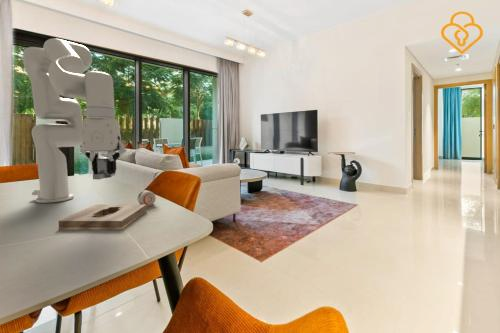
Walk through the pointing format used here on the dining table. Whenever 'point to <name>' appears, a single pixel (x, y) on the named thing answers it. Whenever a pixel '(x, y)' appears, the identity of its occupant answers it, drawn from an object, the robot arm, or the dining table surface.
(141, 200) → the roller toy
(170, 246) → the dining table surface
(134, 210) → the socket plate
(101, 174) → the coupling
